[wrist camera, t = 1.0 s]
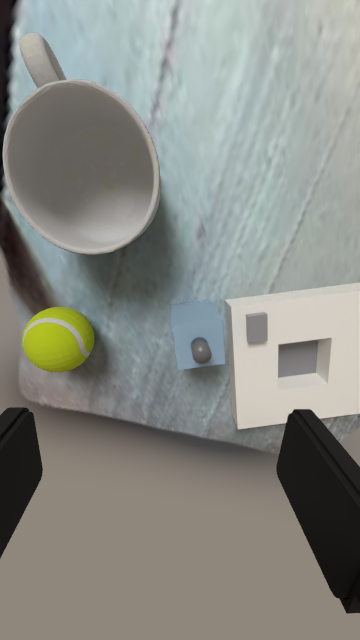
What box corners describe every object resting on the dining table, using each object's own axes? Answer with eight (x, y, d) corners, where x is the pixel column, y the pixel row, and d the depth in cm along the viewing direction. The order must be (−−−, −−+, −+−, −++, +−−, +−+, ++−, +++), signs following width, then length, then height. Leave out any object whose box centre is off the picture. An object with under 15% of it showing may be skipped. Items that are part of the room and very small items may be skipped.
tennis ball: (35, 302, 28) (-4, 322, 21) (95, 297, 28) (74, 315, 22) (50, 356, 30) (18, 388, 24) (105, 351, 30) (89, 382, 24)
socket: (361, 282, 29) (389, 289, 25) (347, 397, 34) (369, 417, 30) (224, 300, 29) (233, 309, 25) (231, 413, 34) (239, 434, 30)
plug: (209, 299, 29) (227, 326, 20) (212, 335, 30) (230, 375, 22) (170, 304, 29) (172, 334, 20) (175, 340, 30) (178, 381, 22)
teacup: (169, 241, 26) (170, 244, 19) (68, 256, 26) (28, 264, 19) (146, 76, 22) (134, -8, 14) (23, 94, 22) (-53, 19, 14)
